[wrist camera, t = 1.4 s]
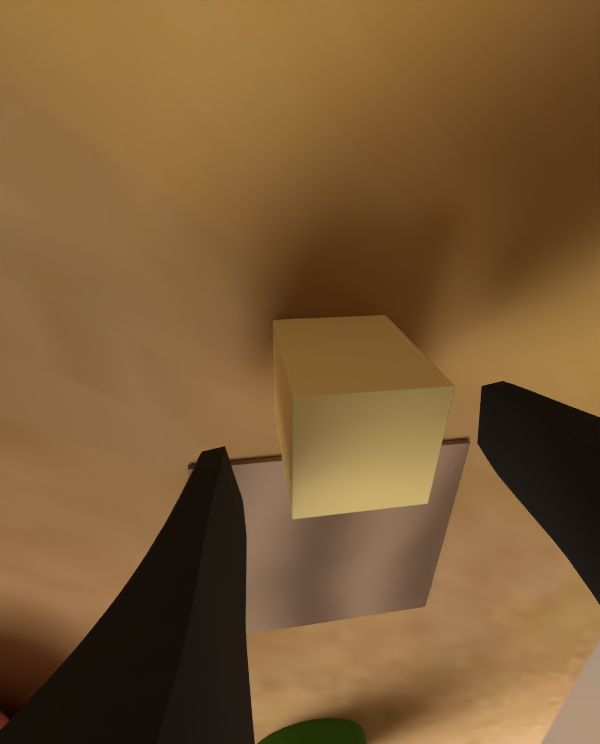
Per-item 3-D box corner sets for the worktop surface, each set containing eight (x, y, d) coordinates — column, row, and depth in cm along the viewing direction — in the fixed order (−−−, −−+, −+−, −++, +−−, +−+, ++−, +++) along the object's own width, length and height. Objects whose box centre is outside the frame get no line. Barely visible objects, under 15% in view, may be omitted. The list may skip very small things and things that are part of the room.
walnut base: (456, 426, 18) (470, 442, 17) (416, 587, 24) (425, 606, 23) (190, 450, 17) (187, 469, 16) (215, 616, 22) (214, 639, 21)
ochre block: (376, 305, 15) (454, 386, 10) (366, 396, 17) (427, 503, 12) (270, 310, 14) (293, 397, 9) (272, 402, 16) (292, 519, 11)
